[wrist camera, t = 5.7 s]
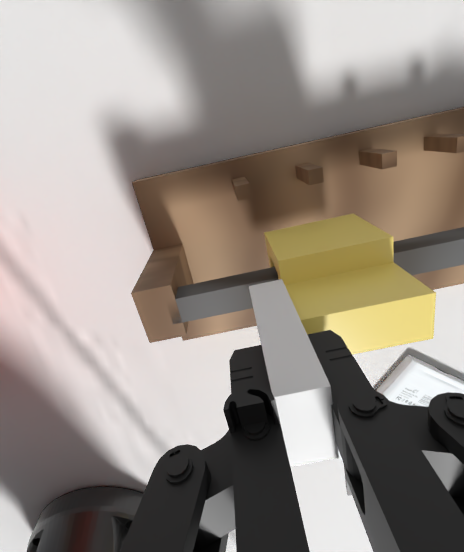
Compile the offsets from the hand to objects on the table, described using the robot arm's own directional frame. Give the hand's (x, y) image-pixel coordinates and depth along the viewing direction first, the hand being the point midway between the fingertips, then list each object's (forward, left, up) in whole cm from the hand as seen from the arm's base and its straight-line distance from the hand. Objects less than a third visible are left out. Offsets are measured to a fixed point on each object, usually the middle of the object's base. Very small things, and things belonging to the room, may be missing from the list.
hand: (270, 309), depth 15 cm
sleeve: (+3, 0, -5) cm, 6 cm away
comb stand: (+6, 0, -10) cm, 11 cm away
